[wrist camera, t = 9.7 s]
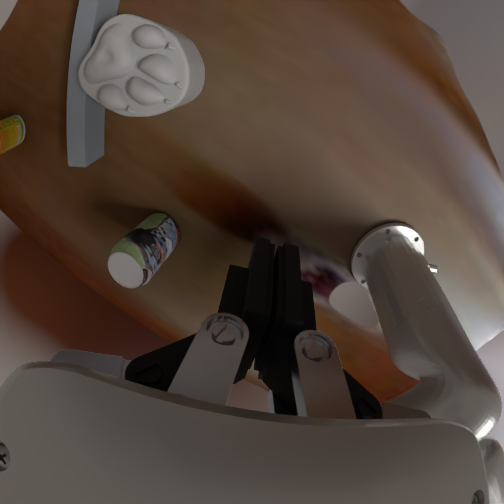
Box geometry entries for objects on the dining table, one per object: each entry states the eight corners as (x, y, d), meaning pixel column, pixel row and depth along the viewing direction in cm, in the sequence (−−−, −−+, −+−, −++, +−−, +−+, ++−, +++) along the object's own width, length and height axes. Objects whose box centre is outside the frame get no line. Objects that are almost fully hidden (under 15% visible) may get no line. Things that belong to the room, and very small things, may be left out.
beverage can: (170, 252, 43) (145, 307, 34) (131, 226, 41) (96, 276, 31) (191, 224, 40) (167, 279, 31) (149, 196, 38) (112, 243, 28)
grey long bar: (121, -10, 21) (102, -17, 17) (104, 155, 34) (85, 167, 30) (102, -7, 20) (82, -13, 16) (87, 153, 34) (68, 165, 30)
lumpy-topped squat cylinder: (142, 13, 23) (108, 2, 16) (225, 60, 27) (211, 55, 20) (100, 80, 28) (61, 87, 21) (176, 126, 32) (150, 143, 25)
